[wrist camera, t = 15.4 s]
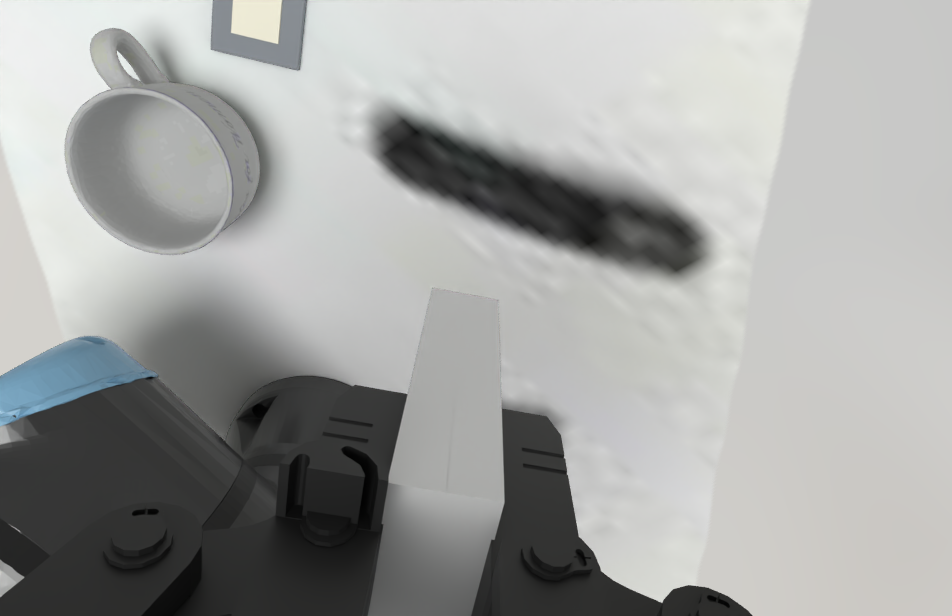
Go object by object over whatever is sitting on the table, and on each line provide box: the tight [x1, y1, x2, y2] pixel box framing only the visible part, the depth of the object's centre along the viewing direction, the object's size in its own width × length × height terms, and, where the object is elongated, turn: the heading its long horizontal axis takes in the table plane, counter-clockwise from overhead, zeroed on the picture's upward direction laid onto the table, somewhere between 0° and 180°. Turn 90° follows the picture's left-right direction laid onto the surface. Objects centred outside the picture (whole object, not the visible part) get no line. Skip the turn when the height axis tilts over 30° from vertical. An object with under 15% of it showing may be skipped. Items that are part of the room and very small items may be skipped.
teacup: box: [65, 28, 260, 255], centre depth 42 cm, size 14×11×8 cm
